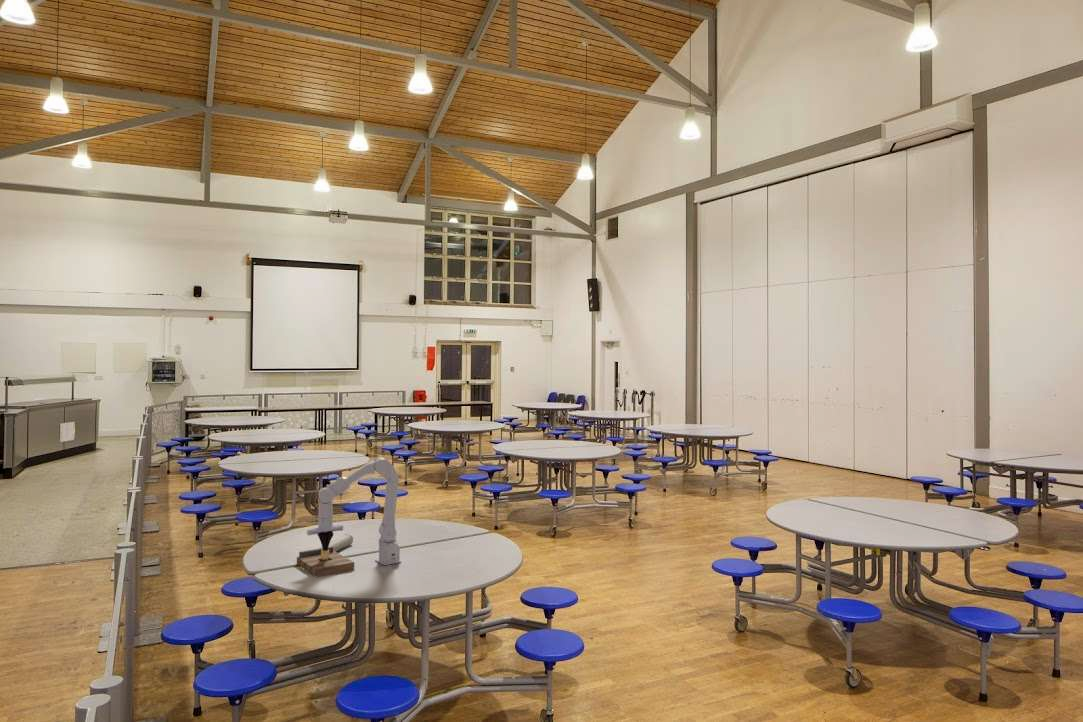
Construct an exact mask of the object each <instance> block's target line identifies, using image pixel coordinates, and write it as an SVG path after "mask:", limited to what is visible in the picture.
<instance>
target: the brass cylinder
mask: <svg viewBox="0 0 1083 722" xmlns="http://www.w3.org/2000/svg"><path fill="white" fill-rule="evenodd" d="M324 561H329V549H328V550H327V551H324V550H323V549H322V550H321V562H324Z"/></svg>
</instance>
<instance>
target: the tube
mask: <svg viewBox="0 0 1083 722" xmlns="http://www.w3.org/2000/svg"><path fill="white" fill-rule="evenodd" d="M353 542H354V537H353V536H352V535H351V534H350V533H349V534H348V533H345V534H344V535H342V536H341V537H338V538H336V539H334V540H332V541H330V543H329V546H328V547H333V551H335V552H337V553H338V552H339V551H342V550H344V549H345V548H347V547H349V546H351V545H352V544H353ZM350 544H351V545H350ZM348 545H349V546H348ZM346 546H347V547H346ZM320 548H322V546H320V547H319V548H318V549H320Z"/></svg>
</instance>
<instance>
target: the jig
mask: <svg viewBox="0 0 1083 722" xmlns="http://www.w3.org/2000/svg"><path fill="white" fill-rule="evenodd" d="M319 548H320V547H319ZM319 548H316V549H308V550H303V551H298V552H299V553H298V556H296V565H297V566H298V567H300V568H301V567H302V568H301V569H303V568H304V569H305V570H304V569H303V570H304V571H306V570H307V571H308V572H307V571H306V572H307V573H309V574H310V573H311V574H310V575H312V576H313V575H314V576H318V577H322V576H321V575H323V576H327V575H326V574H329V575H334V574H339V573H344V572H350V571H354V570H355V561H353V560H351V559H349V558H348V557H345V556H343V555H342V554H340V553H338V551H337V552H335V551H333V547H328V549H329V561H324V562H321V550H322V549H323V548H320V549H319ZM349 570H350V571H349ZM333 573H334V574H333ZM314 576H313V577H314Z"/></svg>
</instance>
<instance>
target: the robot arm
mask: <svg viewBox="0 0 1083 722" xmlns="http://www.w3.org/2000/svg"><path fill="white" fill-rule="evenodd" d="M394 467H395V466H393V464H392V462H390V461H389V460H388V459H387V458H385V457H384V456H378V457H376V458H375V459H372V460H370V461H368V462H367V463H365V464H363V465H362V466H361V467H360V468H358V469H357V470H355V471H354V472H352V473H351V474H349V475H348V476H341V477H339V476H338V477H336V480H335V481H333V482H331V483H330V484H326V487H322V488H321V489H320V490H318V494H317V497H318V499H319V500H318V512H317V513H318V515H317V517H318V518H317V519H318V520H317V522H318V523H317V527H315V528H311V529H306V530H307V531H306V535H307V536H312V535H317V537H318V539H319V541H320V543H321V547H322V548H323V550H324V551H327V550H328V546H329V543H330V542H332V541H331V540H332V538H333V537H334V532H343V531H344V526H343V525H342V524H341V525H340V524H338V525H334V519H333V518H334V517H333V515H334V513H333V512H334V511H333V510H334V508H333V507H334V505H333V500H334V498H336V497H339V496H340V495H341V494H342V493H344V492H346V491H347V490H349V489H350V488H351V484H352V483H353V484H354V482H356V481H357V480H358V481H359V479H362V478H363V477H364V476H367V474H369V475H371V474H372V475H374V474H376V473H377V474H379V475H381V476H383V477H384V479H385V480H386V487H385V488H386V489H385V495H384V497H385V498H384V507H383V516H382V520H381V524H380V526H379V528H378V533H379V535H380V538H379V539H378V558H375V559H374V561H376V562H377V563H379V564H381V565H383V566H389V565H394V564H398V563H402V560H400V558H401V556H400V546H399V544H398V543H397V530H396V519H395V517H396V511H397V510H396V509H397V498H398V497H397V496H398V488H399V475H398V473H397V471H396V469H395V468H394Z"/></svg>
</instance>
